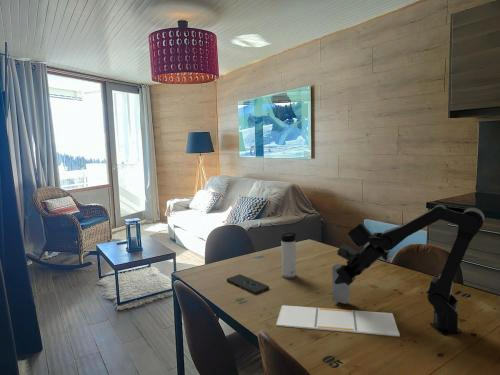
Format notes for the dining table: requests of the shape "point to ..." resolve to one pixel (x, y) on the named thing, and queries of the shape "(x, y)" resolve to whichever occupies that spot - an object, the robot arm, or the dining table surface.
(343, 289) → the translucent grey tumbler
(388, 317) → the board
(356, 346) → the dining table surface
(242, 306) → the dining table surface
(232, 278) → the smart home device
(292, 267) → the travel mug
